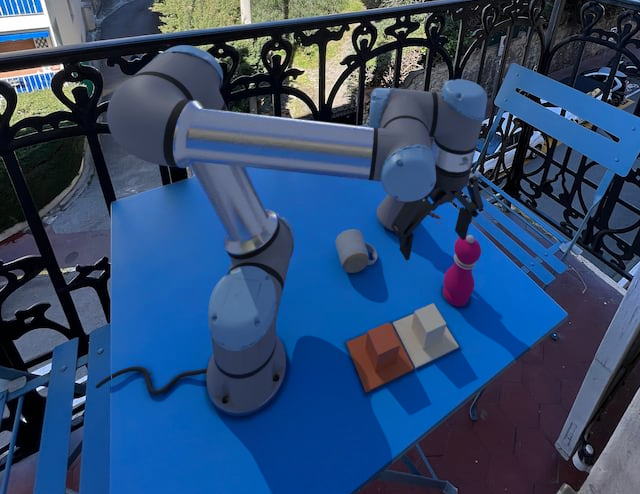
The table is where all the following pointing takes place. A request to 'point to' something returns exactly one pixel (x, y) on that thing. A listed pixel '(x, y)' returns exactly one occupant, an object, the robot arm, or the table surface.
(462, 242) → the pepper mill
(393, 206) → the coffee pot
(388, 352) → the terracotta block
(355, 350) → the terracotta mat
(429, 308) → the cream block
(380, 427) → the table surface
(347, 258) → the ceramic mug
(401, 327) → the cream mat
